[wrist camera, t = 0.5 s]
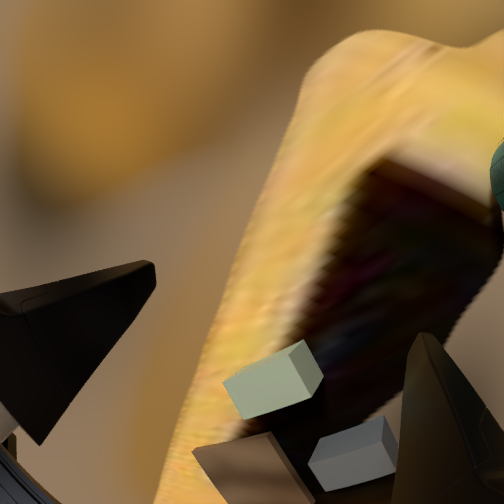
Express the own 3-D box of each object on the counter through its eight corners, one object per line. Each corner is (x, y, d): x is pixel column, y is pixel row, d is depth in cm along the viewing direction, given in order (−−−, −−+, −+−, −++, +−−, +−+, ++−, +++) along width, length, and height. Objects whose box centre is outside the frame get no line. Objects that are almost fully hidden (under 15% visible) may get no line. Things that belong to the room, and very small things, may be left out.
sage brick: (324, 375, 22) (311, 397, 19) (264, 399, 24) (243, 419, 21) (304, 339, 23) (288, 354, 19) (245, 366, 25) (222, 382, 22)
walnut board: (315, 500, 22) (312, 506, 21) (239, 508, 25) (235, 513, 24) (271, 431, 24) (266, 436, 23) (196, 447, 28) (191, 451, 27)
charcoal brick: (398, 443, 19) (396, 471, 16) (336, 464, 21) (325, 491, 18) (384, 414, 20) (381, 441, 16) (320, 437, 22) (307, 463, 18)
